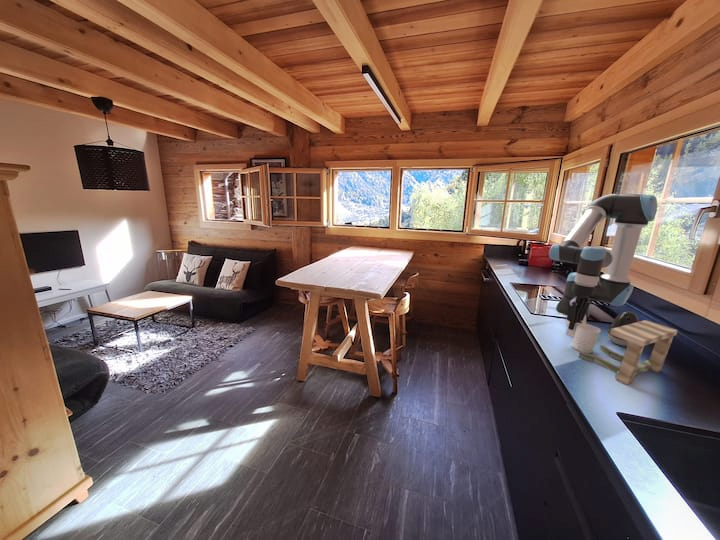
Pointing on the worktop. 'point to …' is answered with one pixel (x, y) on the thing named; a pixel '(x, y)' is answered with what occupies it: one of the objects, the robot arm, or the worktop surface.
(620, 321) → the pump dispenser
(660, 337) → the wooden slatted bench
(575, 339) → the white cup
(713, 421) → the worktop surface
